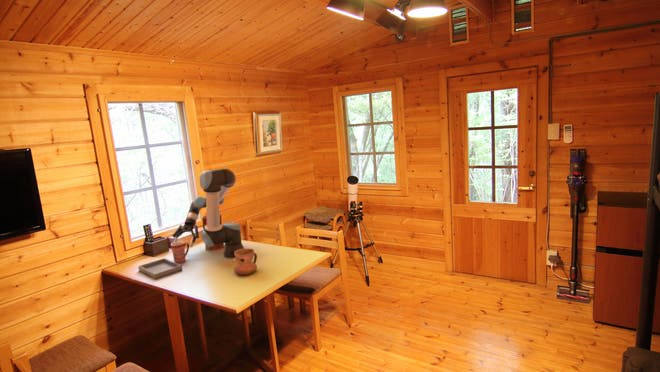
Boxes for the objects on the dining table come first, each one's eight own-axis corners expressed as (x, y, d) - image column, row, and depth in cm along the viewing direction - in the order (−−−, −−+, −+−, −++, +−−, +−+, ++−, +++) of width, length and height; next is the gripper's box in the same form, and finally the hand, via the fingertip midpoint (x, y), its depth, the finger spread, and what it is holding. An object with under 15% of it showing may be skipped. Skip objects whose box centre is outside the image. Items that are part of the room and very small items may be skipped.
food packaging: (205, 250, 300) (201, 218, 295) (206, 246, 309) (203, 215, 304) (223, 248, 302) (220, 216, 298) (224, 244, 311) (221, 213, 307)
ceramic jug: (241, 279, 241) (239, 257, 239) (227, 274, 251) (226, 252, 249) (264, 270, 254) (263, 249, 252) (251, 265, 264) (249, 245, 262)
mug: (177, 265, 272) (174, 246, 270) (170, 262, 278) (168, 243, 276) (193, 259, 282) (191, 241, 279) (187, 256, 287) (184, 239, 285)
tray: (182, 270, 262) (181, 265, 261) (155, 279, 249) (154, 274, 248) (165, 262, 278) (164, 257, 277) (139, 271, 265) (138, 266, 264)
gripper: (208, 222, 294) (200, 249, 282) (178, 222, 299) (169, 248, 288) (204, 217, 288) (195, 244, 276) (173, 217, 293) (163, 243, 282)
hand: (182, 246), depth 282 cm, fingers open, 13 cm apart
